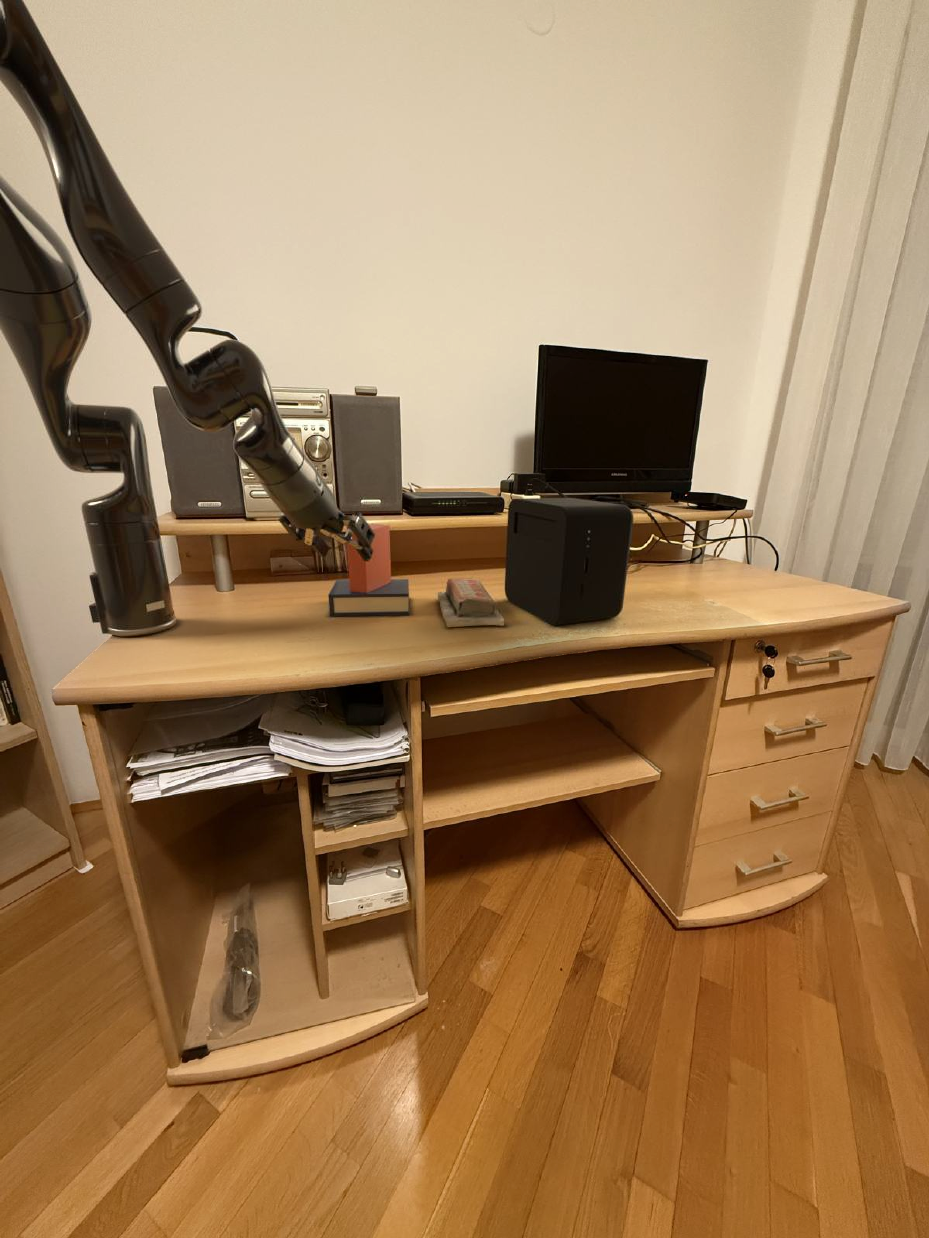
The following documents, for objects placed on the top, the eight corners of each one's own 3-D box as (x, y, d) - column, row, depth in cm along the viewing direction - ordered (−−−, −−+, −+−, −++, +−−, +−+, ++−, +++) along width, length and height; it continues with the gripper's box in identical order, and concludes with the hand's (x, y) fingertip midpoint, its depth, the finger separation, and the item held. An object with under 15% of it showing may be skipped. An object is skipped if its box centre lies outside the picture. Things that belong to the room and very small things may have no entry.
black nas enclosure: (628, 620, 87) (642, 506, 81) (558, 629, 82) (568, 507, 76) (564, 592, 105) (572, 496, 99) (503, 598, 100) (508, 497, 93)
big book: (329, 616, 87) (328, 594, 85) (337, 599, 97) (336, 579, 96) (409, 615, 88) (408, 593, 87) (408, 598, 99) (408, 579, 97)
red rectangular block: (366, 593, 86) (363, 531, 83) (349, 591, 88) (346, 529, 84) (391, 582, 95) (389, 524, 91) (375, 580, 96) (373, 523, 92)
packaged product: (436, 576, 97) (486, 575, 98) (436, 599, 98) (485, 598, 100) (446, 600, 80) (506, 599, 81) (446, 629, 81) (504, 627, 83)
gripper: (245, 506, 70) (303, 569, 84) (330, 512, 65) (377, 577, 79) (267, 467, 73) (320, 534, 87) (350, 469, 68) (391, 540, 82)
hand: (347, 555), depth 83 cm, fingers open, 8 cm apart
